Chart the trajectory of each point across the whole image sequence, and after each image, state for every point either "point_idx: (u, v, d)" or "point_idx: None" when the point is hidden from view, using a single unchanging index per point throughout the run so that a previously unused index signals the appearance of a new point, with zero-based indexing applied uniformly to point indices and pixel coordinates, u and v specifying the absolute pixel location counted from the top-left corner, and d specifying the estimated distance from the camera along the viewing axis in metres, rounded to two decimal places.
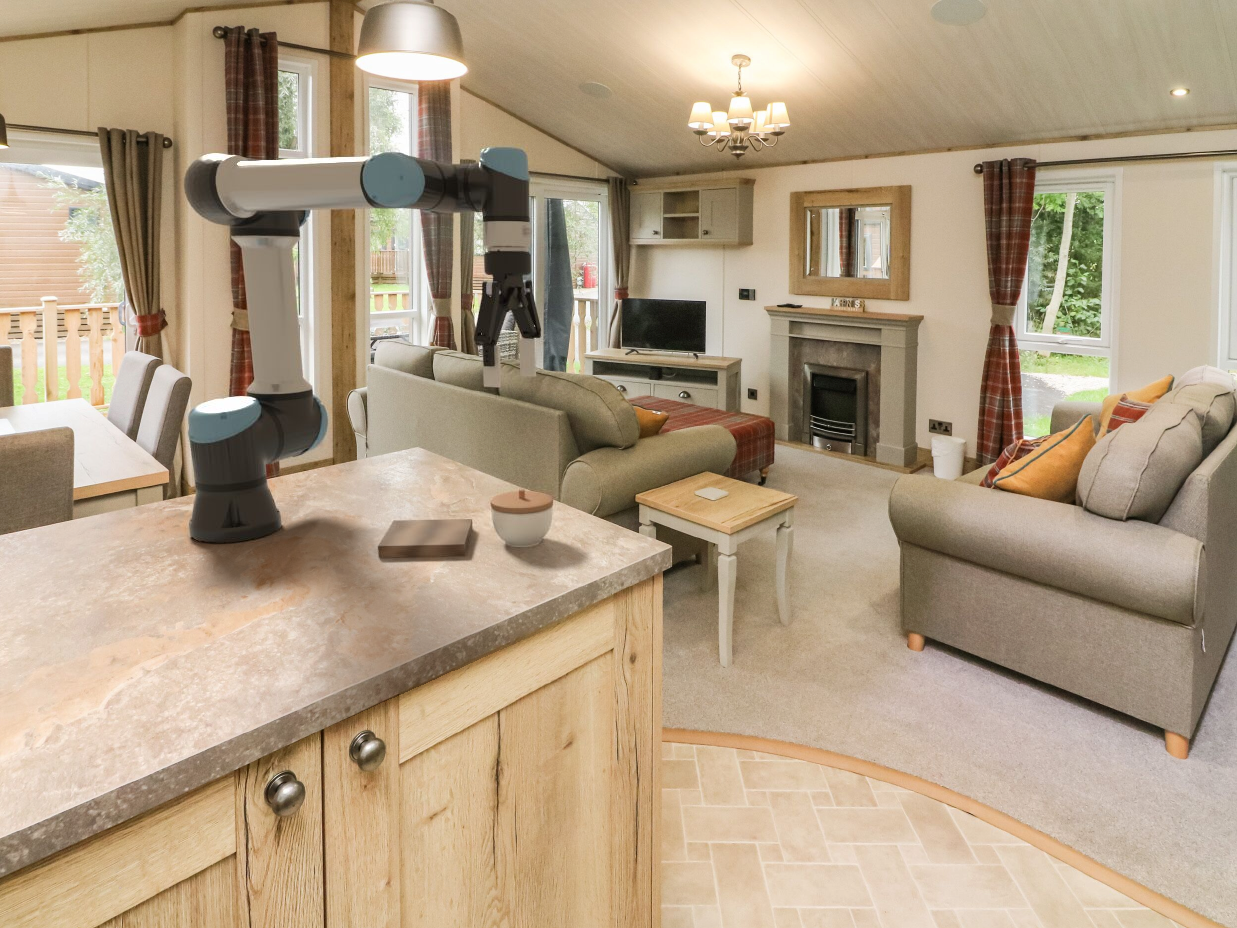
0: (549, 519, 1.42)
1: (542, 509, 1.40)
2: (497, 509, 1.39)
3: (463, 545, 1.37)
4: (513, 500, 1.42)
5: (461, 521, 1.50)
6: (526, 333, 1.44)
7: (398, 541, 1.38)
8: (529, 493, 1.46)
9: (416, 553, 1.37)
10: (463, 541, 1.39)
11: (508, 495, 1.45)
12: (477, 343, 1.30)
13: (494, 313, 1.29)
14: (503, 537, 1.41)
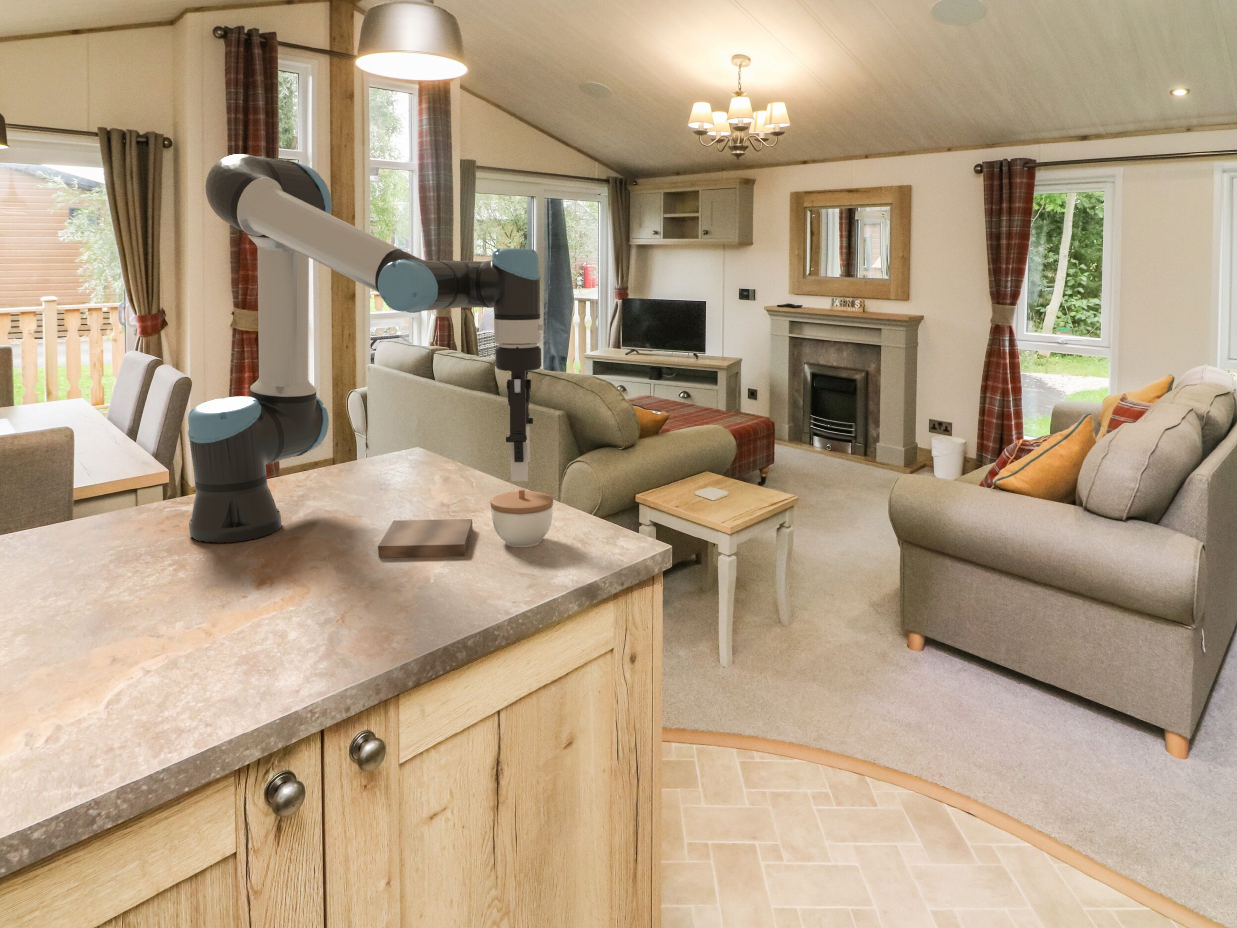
0: (549, 519, 1.42)
1: (542, 509, 1.40)
2: (497, 509, 1.39)
3: (463, 545, 1.37)
4: (513, 500, 1.42)
5: (461, 521, 1.50)
6: None
7: (398, 541, 1.38)
8: (529, 493, 1.46)
9: (416, 553, 1.37)
10: (463, 541, 1.39)
11: (508, 495, 1.45)
12: (508, 440, 1.32)
13: (525, 410, 1.32)
14: (503, 537, 1.41)
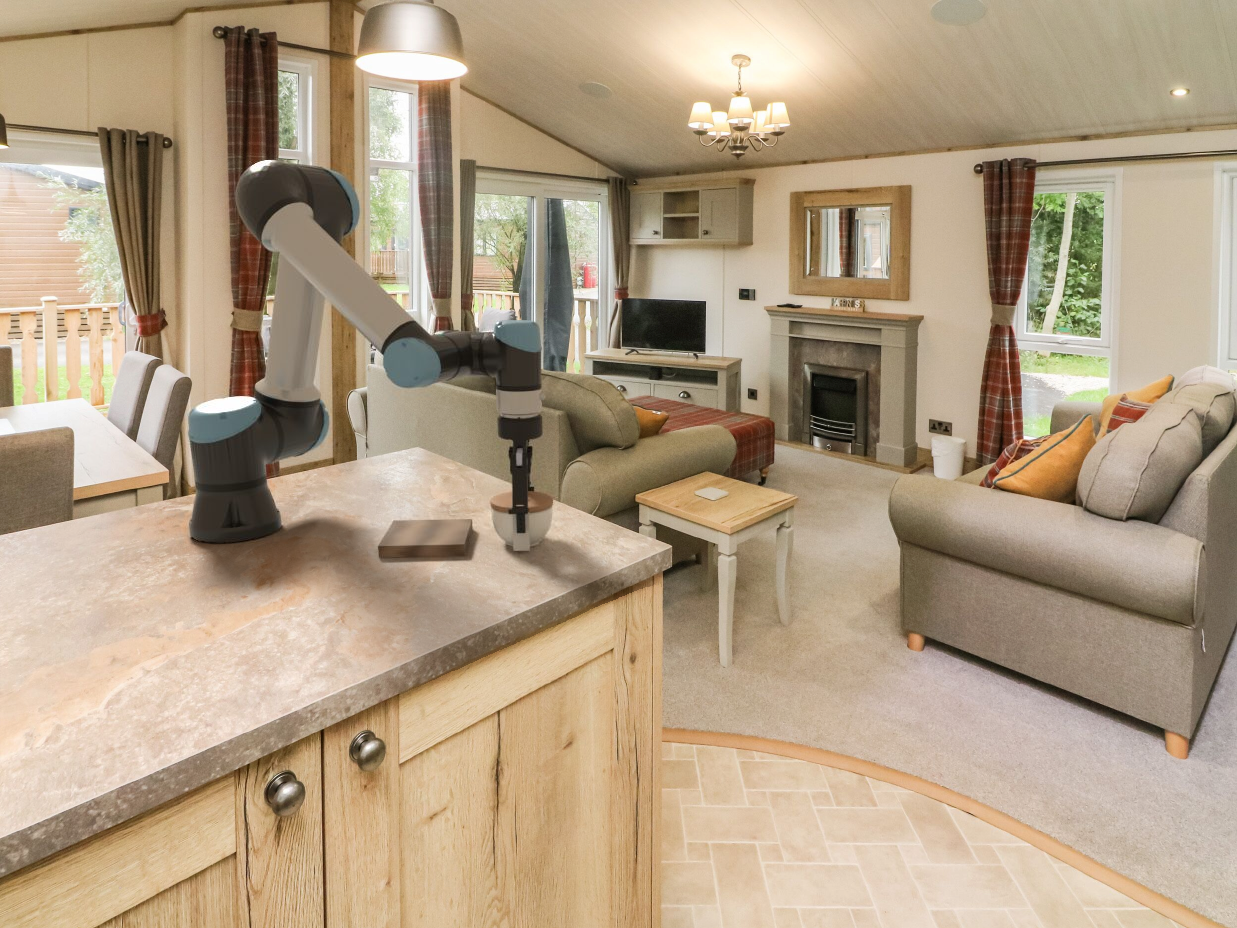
0: (549, 519, 1.42)
1: (542, 509, 1.40)
2: (497, 509, 1.39)
3: (463, 545, 1.37)
4: None
5: (461, 521, 1.50)
6: None
7: (398, 541, 1.38)
8: (529, 493, 1.46)
9: (416, 553, 1.37)
10: (463, 541, 1.39)
11: (508, 495, 1.45)
12: (510, 513, 1.36)
13: (527, 483, 1.35)
14: (503, 537, 1.41)
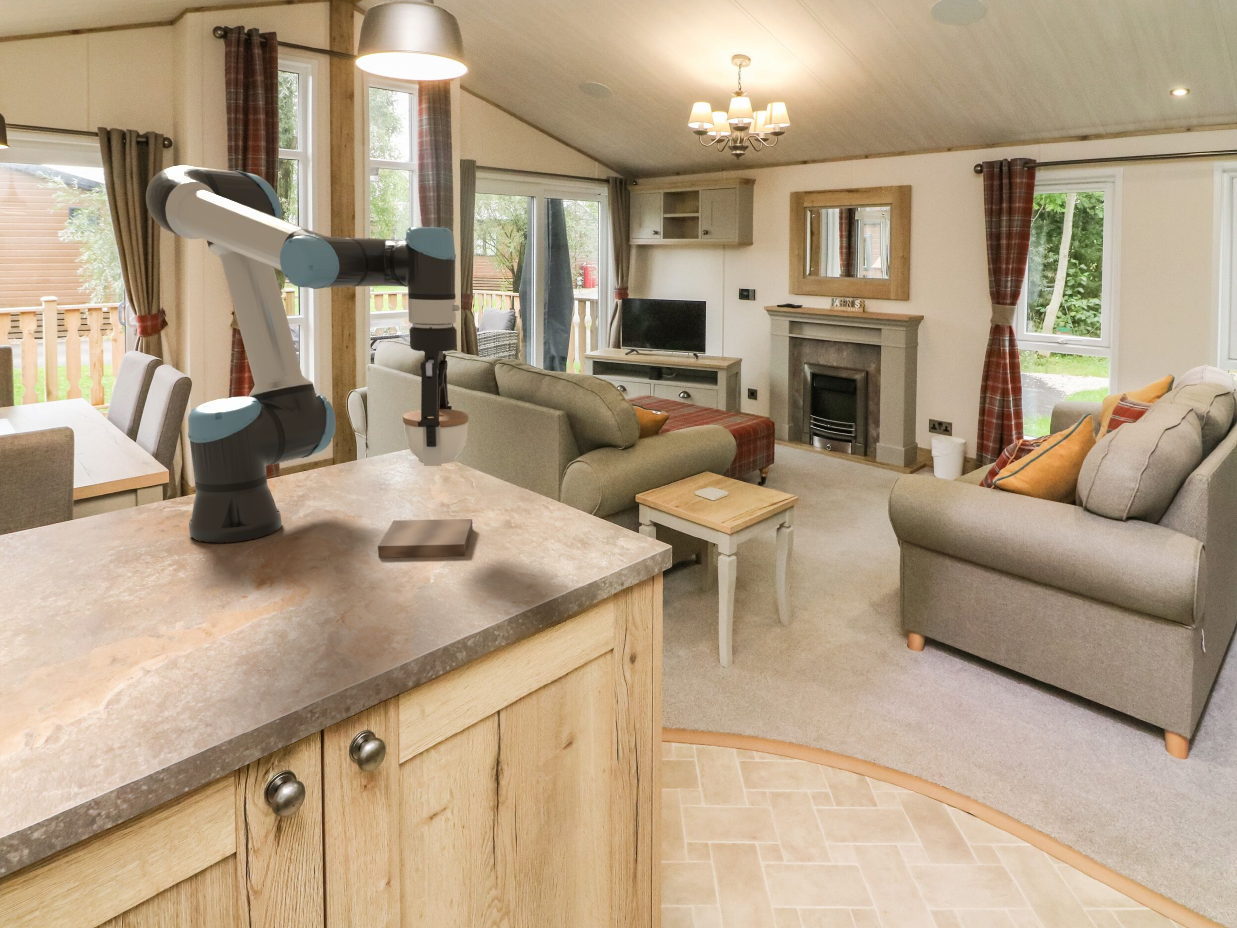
0: (463, 436, 1.39)
1: (455, 424, 1.36)
2: (408, 423, 1.36)
3: (463, 545, 1.37)
4: None
5: (461, 521, 1.50)
6: None
7: (398, 541, 1.38)
8: (444, 410, 1.42)
9: (416, 553, 1.37)
10: (463, 541, 1.39)
11: None
12: (420, 425, 1.32)
13: (437, 395, 1.31)
14: (415, 452, 1.37)
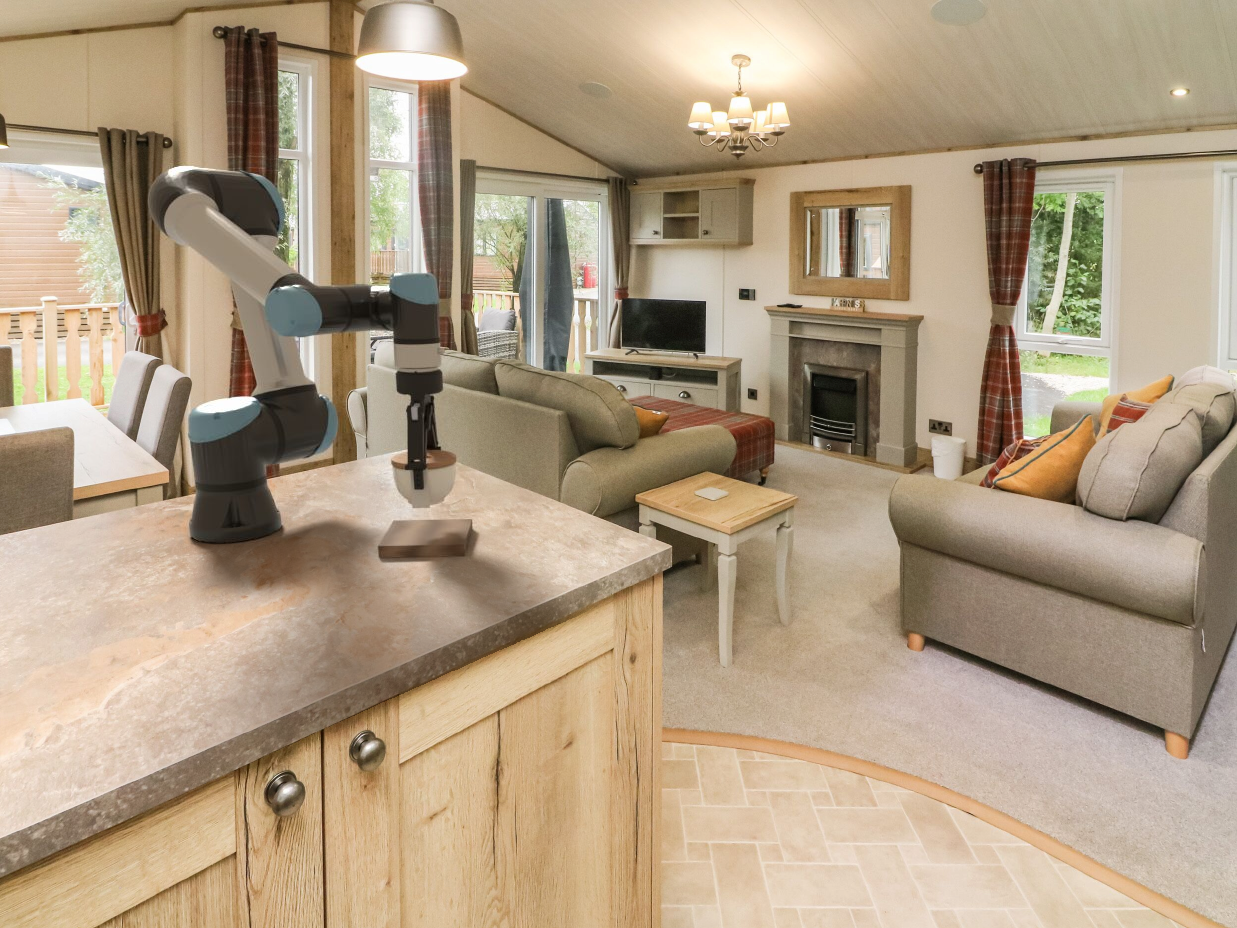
0: (451, 477, 1.40)
1: (442, 465, 1.37)
2: (396, 466, 1.37)
3: (463, 545, 1.37)
4: None
5: (461, 521, 1.50)
6: (427, 448, 1.46)
7: (398, 541, 1.38)
8: (433, 451, 1.43)
9: (416, 553, 1.37)
10: (463, 541, 1.39)
11: None
12: (407, 468, 1.34)
13: (423, 438, 1.33)
14: (403, 495, 1.39)
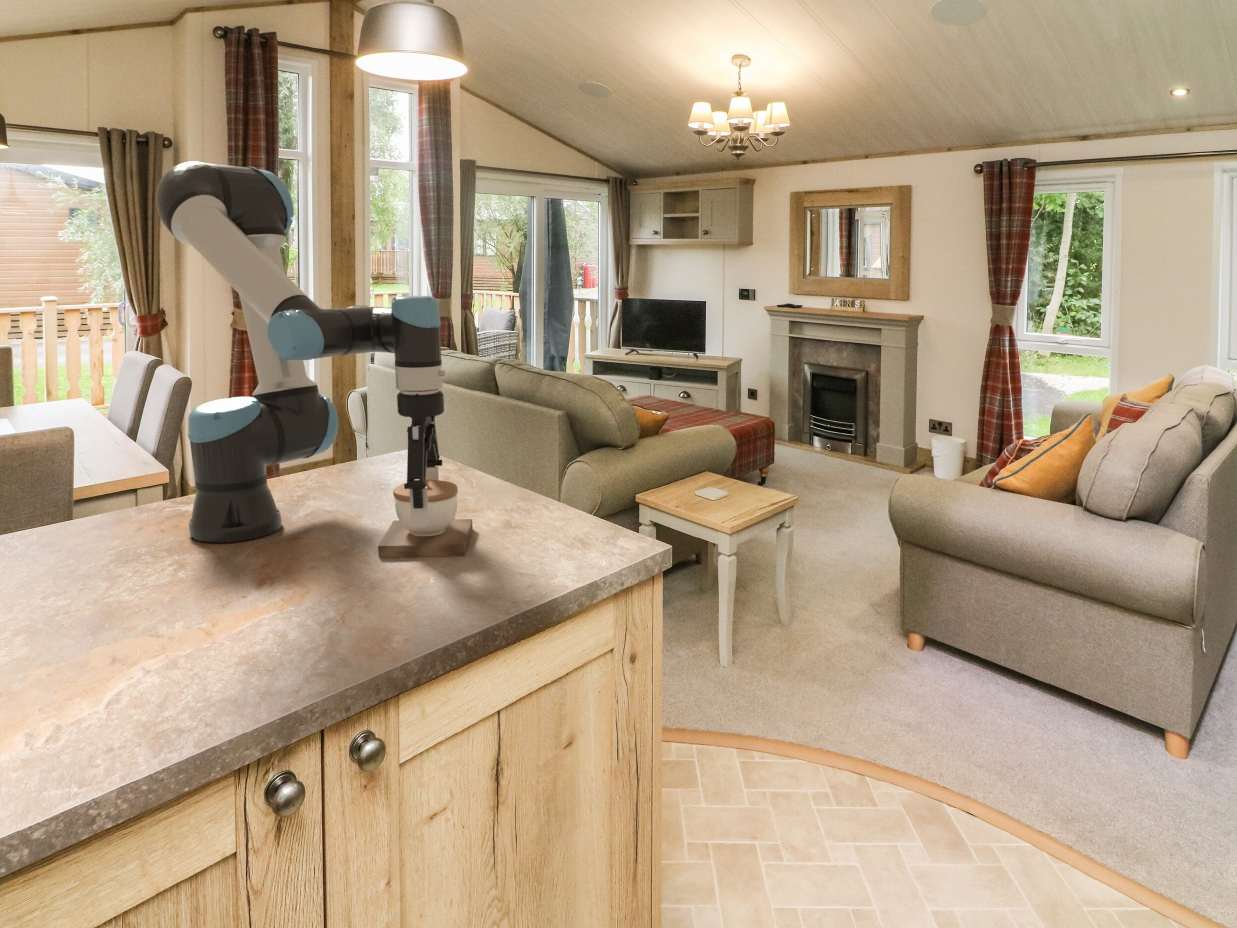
0: (453, 508, 1.41)
1: (444, 498, 1.39)
2: (398, 498, 1.38)
3: (463, 545, 1.37)
4: None
5: (461, 521, 1.50)
6: (428, 462, 1.48)
7: (398, 541, 1.38)
8: (434, 482, 1.45)
9: (416, 553, 1.37)
10: (463, 541, 1.39)
11: None
12: (406, 487, 1.33)
13: (423, 457, 1.33)
14: (405, 526, 1.40)
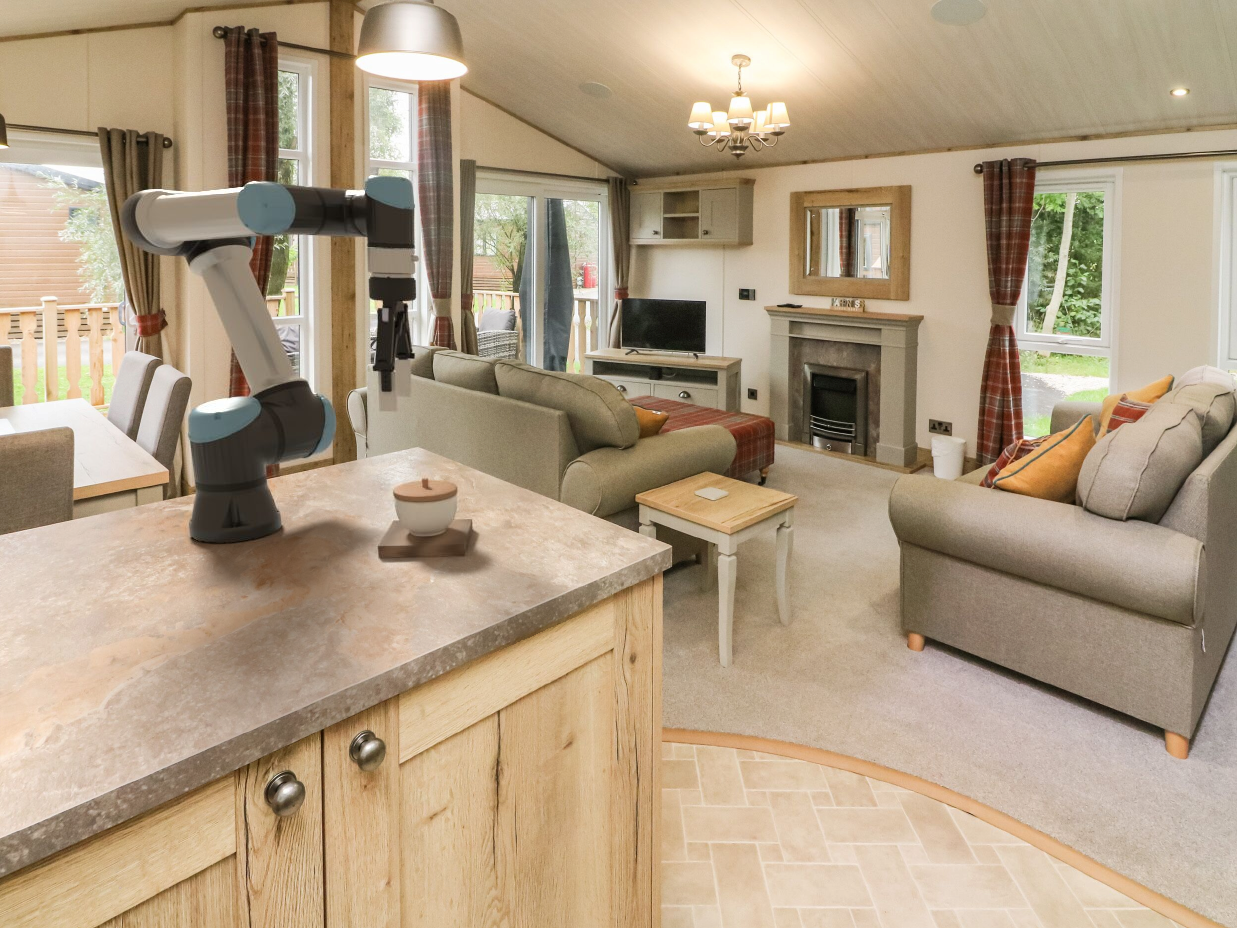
0: (453, 508, 1.41)
1: (444, 497, 1.39)
2: (398, 498, 1.39)
3: (463, 545, 1.37)
4: (416, 489, 1.41)
5: (461, 521, 1.50)
6: (400, 354, 1.47)
7: (398, 541, 1.38)
8: (434, 482, 1.45)
9: (416, 553, 1.37)
10: (463, 541, 1.39)
11: (412, 484, 1.44)
12: (374, 369, 1.32)
13: (392, 340, 1.32)
14: (405, 526, 1.40)
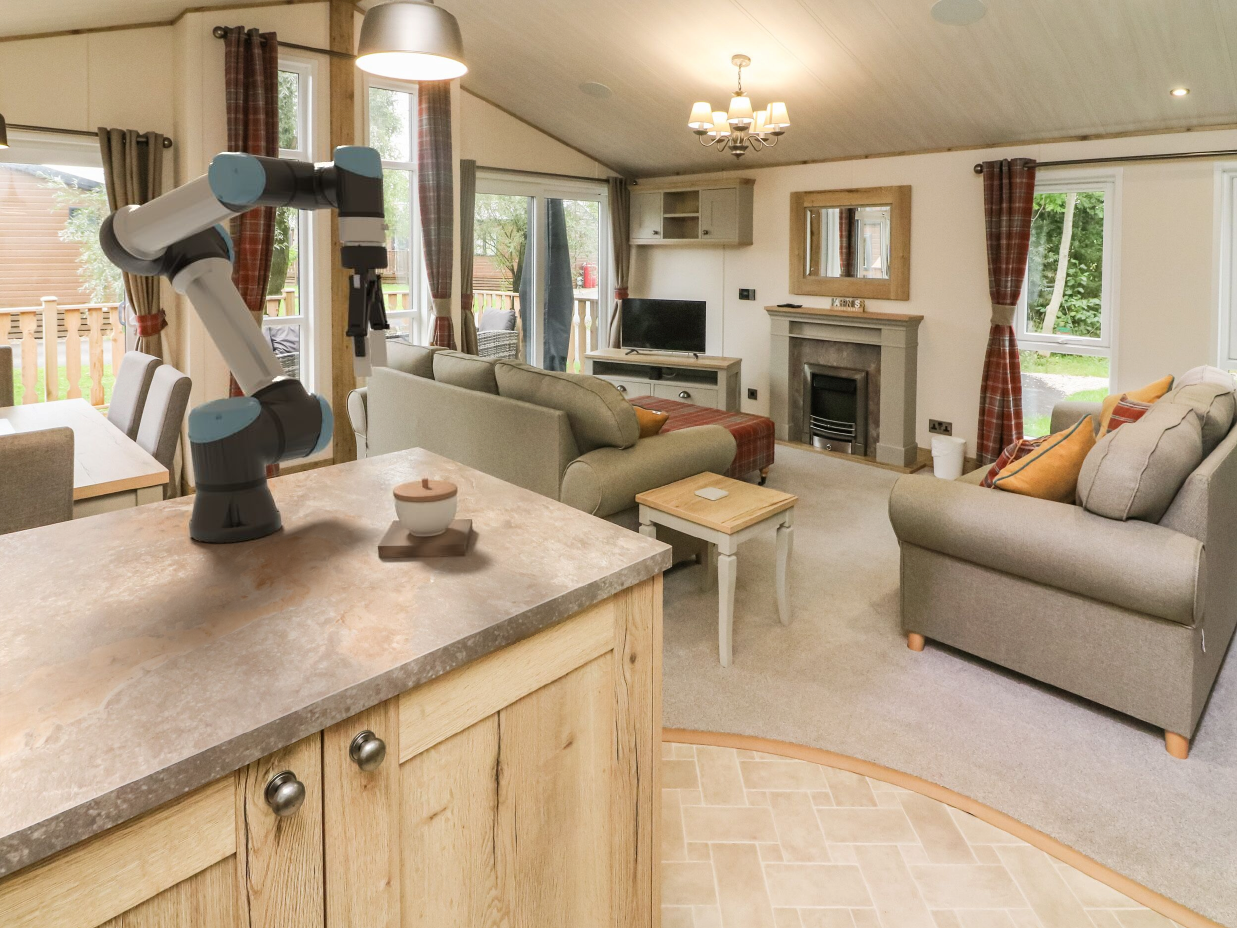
0: (453, 508, 1.41)
1: (444, 497, 1.39)
2: (398, 498, 1.39)
3: (463, 545, 1.37)
4: (416, 489, 1.41)
5: (461, 521, 1.50)
6: (375, 325, 1.50)
7: (398, 541, 1.38)
8: (434, 482, 1.45)
9: (416, 553, 1.37)
10: (463, 541, 1.39)
11: (412, 484, 1.44)
12: (348, 335, 1.35)
13: (364, 305, 1.35)
14: (405, 526, 1.40)
